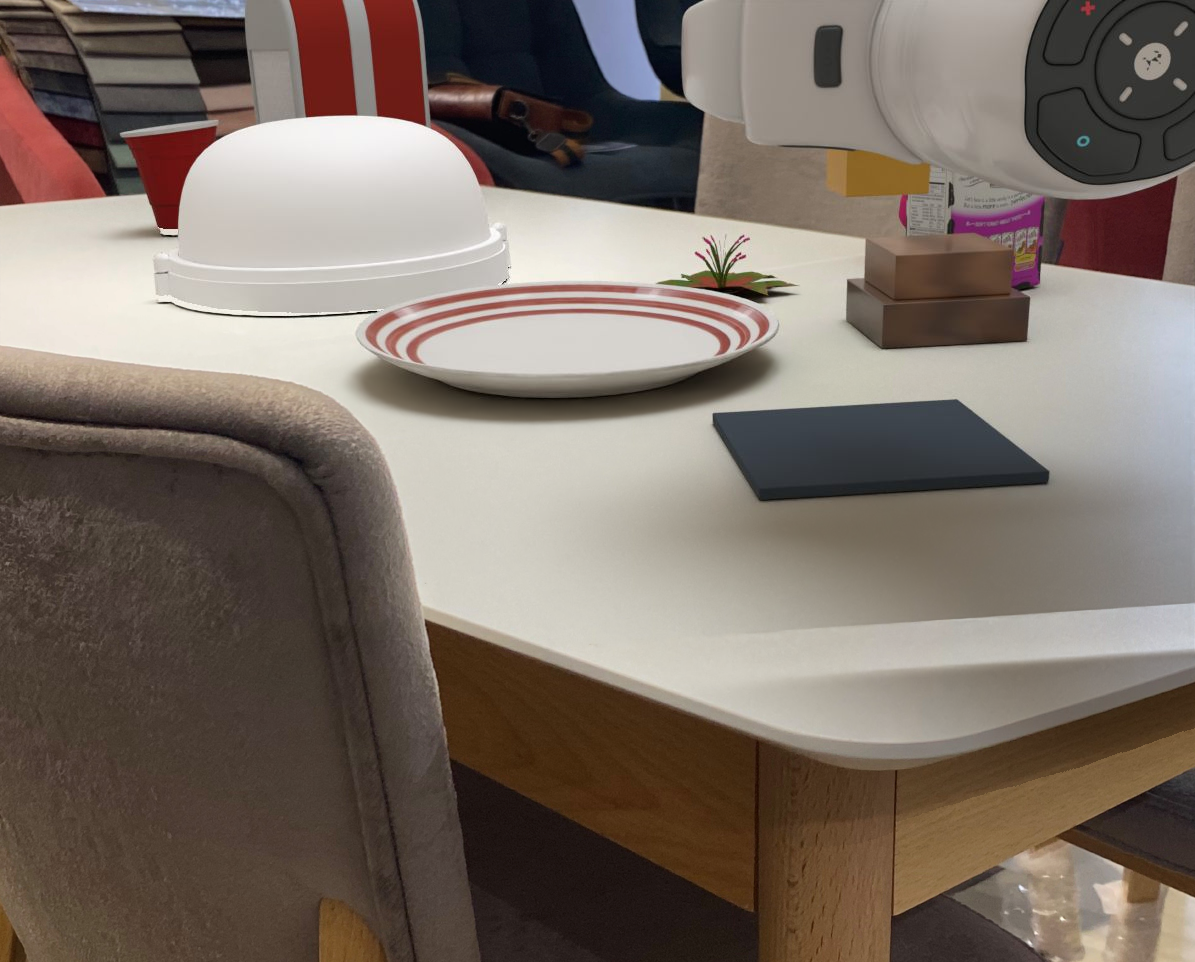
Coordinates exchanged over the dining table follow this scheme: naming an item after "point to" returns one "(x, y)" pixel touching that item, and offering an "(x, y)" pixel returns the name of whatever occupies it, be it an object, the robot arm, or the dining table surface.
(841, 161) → the bar
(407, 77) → the red striped carton
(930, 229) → the candy bar box
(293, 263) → the dome cover
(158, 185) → the plastic cup
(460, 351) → the dinner plate
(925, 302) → the stepped bronze pedestal
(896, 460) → the mat
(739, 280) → the lily flower
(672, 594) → the dining table surface
